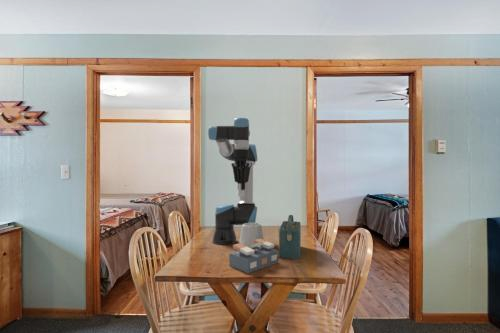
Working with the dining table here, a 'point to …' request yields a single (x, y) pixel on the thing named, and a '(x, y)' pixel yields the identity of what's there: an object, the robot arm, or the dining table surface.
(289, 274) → the dining table surface
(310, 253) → the dining table surface
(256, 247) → the rocker mid
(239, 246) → the rocker near
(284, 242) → the radio
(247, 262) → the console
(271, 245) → the rocker far
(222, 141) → the robot arm
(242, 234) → the vase
